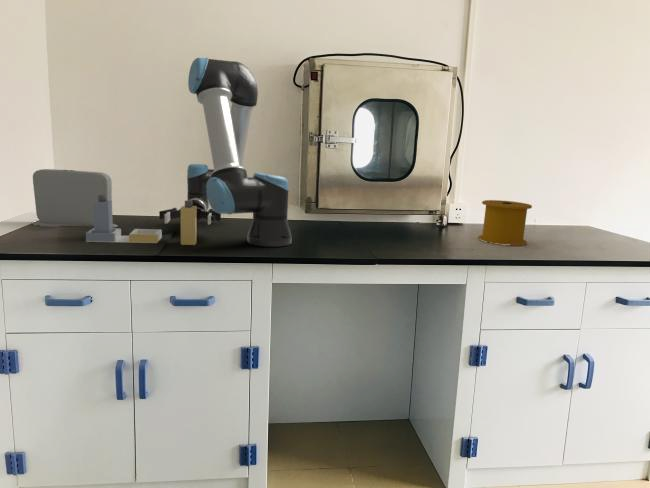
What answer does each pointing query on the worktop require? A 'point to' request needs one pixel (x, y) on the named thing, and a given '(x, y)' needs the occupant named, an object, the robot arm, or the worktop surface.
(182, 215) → the ochre plug
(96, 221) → the blue-grey bottle
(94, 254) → the worktop surface
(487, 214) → the spool
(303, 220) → the worktop surface
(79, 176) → the grey upright panel
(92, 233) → the slot rack
